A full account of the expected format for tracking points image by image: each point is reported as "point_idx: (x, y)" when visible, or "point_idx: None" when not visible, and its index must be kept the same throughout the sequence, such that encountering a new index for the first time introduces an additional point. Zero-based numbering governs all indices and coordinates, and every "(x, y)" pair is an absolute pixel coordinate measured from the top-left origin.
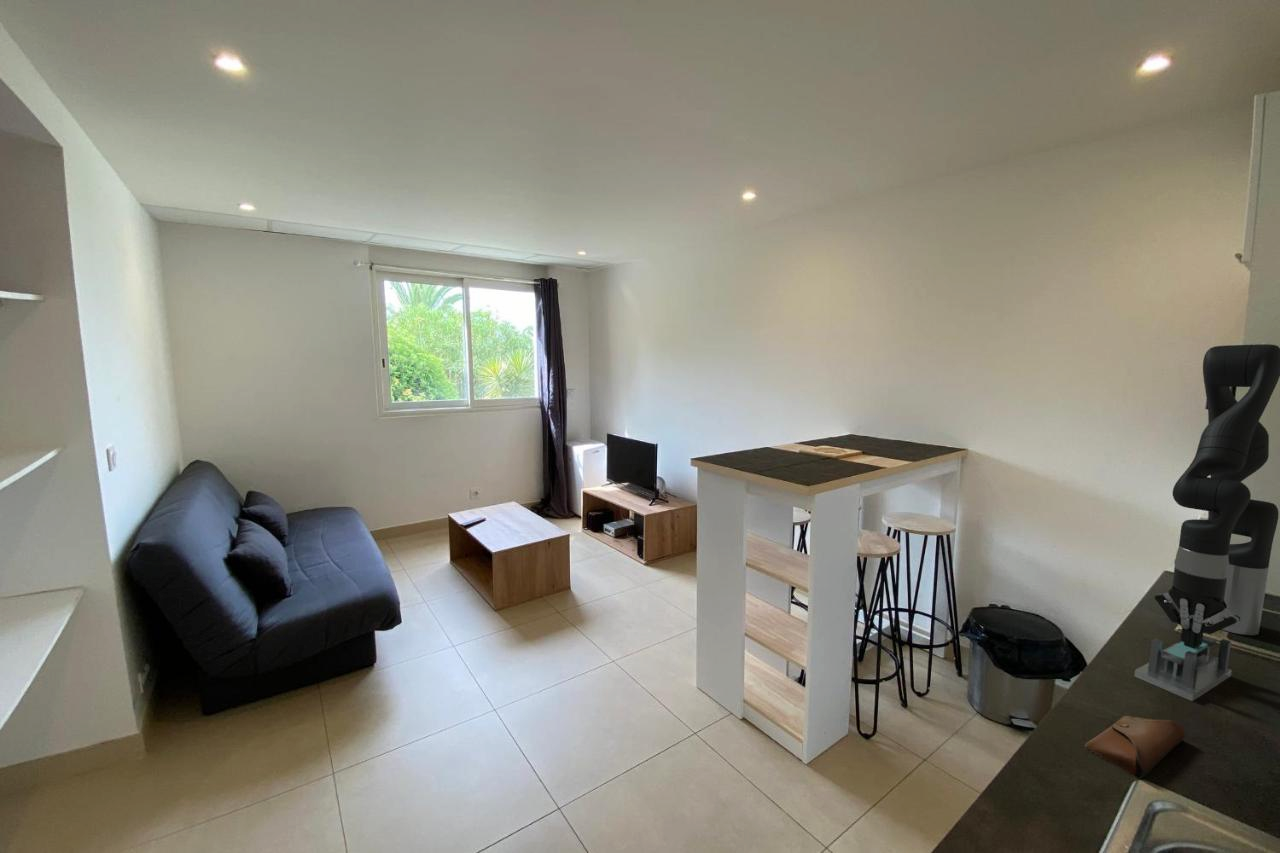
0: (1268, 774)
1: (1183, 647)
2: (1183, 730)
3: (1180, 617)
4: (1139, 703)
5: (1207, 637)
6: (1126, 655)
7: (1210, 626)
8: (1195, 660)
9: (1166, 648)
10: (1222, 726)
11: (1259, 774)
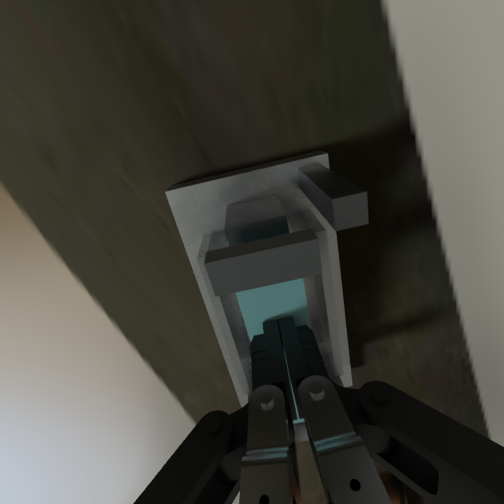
0: (489, 438)
1: None
2: (405, 493)
3: (236, 459)
4: (311, 449)
5: (285, 247)
6: (154, 326)
7: (405, 480)
8: None
9: (224, 337)
10: (411, 394)
11: None
